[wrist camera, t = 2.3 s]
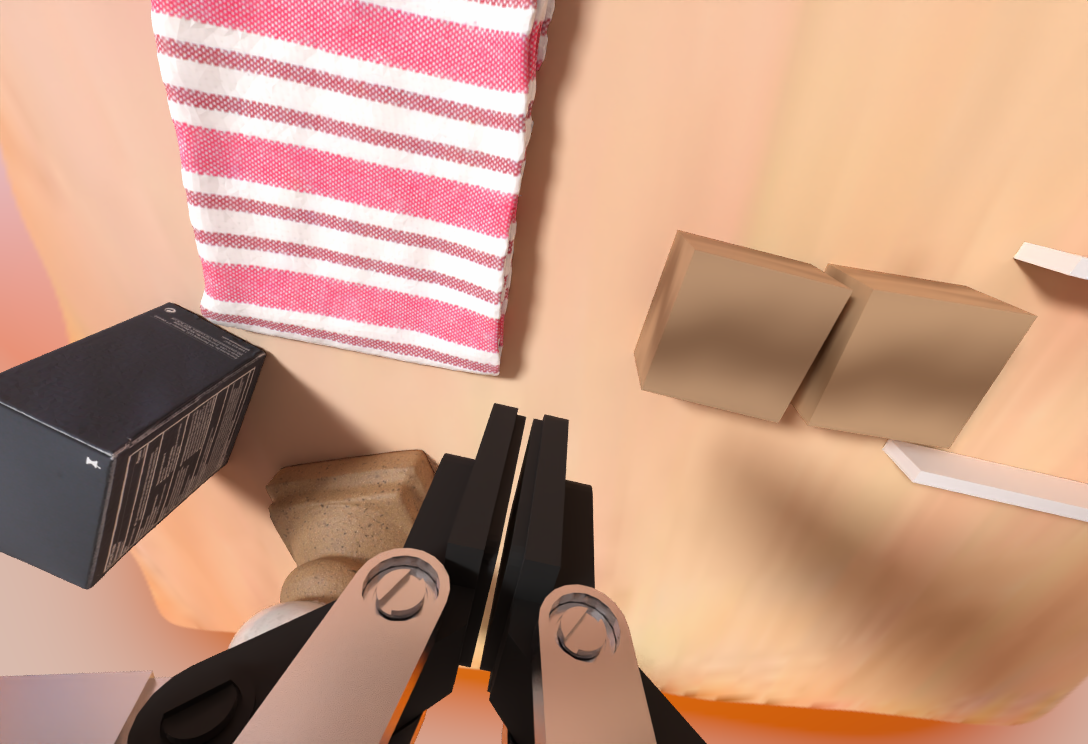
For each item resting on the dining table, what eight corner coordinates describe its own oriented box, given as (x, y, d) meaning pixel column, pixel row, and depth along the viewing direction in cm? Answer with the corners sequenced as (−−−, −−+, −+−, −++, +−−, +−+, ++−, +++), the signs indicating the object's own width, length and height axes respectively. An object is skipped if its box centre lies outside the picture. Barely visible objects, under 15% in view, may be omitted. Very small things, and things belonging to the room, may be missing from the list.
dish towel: (583, -169, 18) (583, -231, 15) (505, 370, 29) (495, 400, 26) (135, -256, 18) (41, -336, 15) (225, 319, 29) (182, 342, 26)
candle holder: (276, 467, 33) (-274, 1076, 12) (424, 447, 31) (85, 1122, 10) (339, 576, 38) (27, 1150, 17) (470, 564, 36) (307, 1190, 15)
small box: (163, 293, 28) (-51, 379, 18) (271, 350, 29) (121, 457, 20) (135, 420, 32) (-48, 541, 23) (229, 465, 33) (92, 596, 24)
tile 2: (826, 262, 24) (873, 289, 20) (963, 284, 24) (1037, 316, 20) (775, 382, 27) (807, 425, 23) (895, 401, 27) (949, 448, 23)
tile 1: (677, 229, 24) (695, 249, 20) (809, 263, 24) (853, 290, 20) (633, 351, 27) (641, 389, 23) (750, 380, 27) (778, 423, 23)
